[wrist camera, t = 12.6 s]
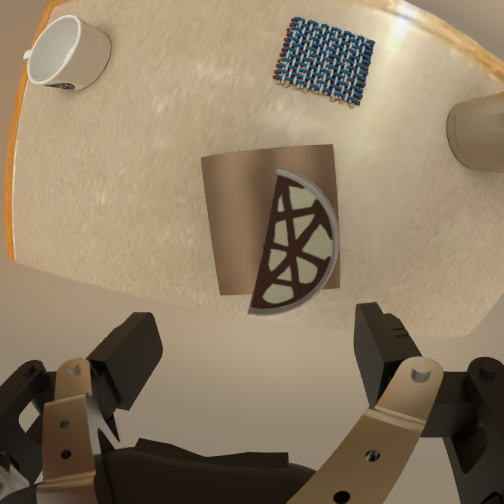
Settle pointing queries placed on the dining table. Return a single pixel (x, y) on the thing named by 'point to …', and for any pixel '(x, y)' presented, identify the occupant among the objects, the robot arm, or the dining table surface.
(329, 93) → the woven mat
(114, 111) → the dining table surface
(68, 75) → the mug
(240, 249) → the walnut base
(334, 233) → the food container
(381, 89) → the dining table surface
